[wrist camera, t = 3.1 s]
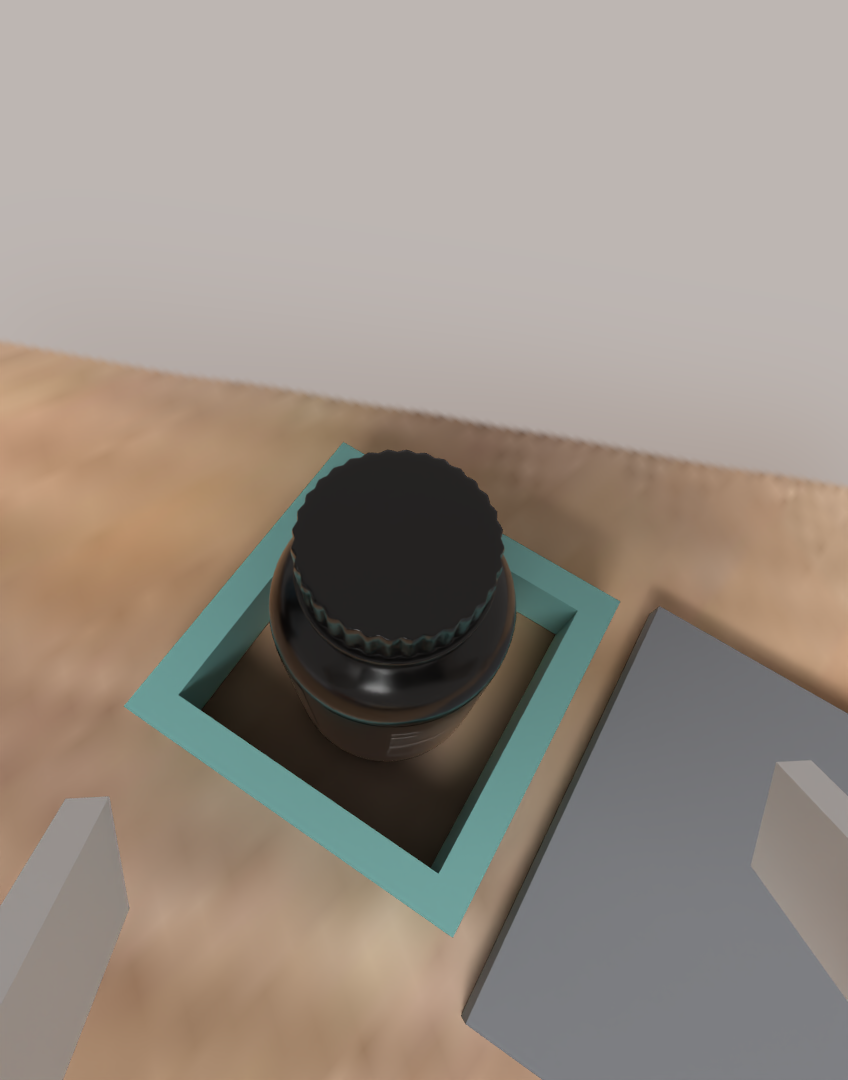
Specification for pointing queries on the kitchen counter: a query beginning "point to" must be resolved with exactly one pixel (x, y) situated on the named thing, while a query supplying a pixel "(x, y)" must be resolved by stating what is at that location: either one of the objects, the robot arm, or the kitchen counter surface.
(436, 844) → the kitchen counter surface
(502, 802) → the teal collar
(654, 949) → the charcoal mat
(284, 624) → the supplement bottle
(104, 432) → the kitchen counter surface
